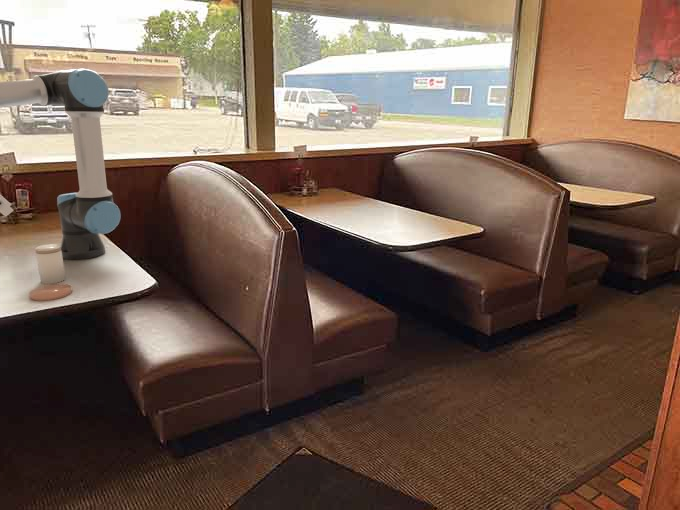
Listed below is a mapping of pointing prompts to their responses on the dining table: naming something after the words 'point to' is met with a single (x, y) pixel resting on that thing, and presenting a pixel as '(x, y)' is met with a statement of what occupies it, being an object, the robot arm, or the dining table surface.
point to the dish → (50, 292)
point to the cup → (50, 263)
